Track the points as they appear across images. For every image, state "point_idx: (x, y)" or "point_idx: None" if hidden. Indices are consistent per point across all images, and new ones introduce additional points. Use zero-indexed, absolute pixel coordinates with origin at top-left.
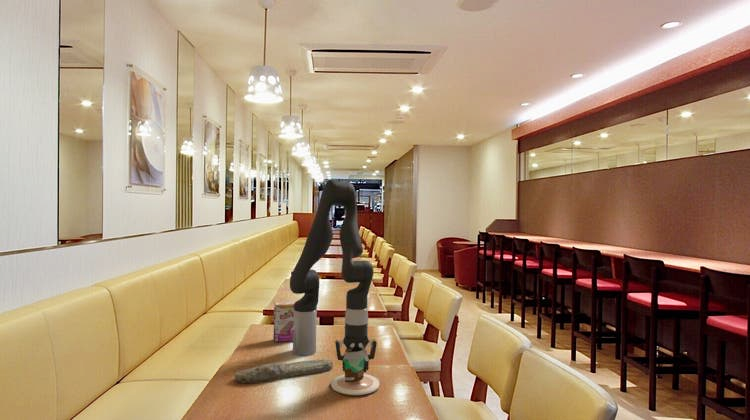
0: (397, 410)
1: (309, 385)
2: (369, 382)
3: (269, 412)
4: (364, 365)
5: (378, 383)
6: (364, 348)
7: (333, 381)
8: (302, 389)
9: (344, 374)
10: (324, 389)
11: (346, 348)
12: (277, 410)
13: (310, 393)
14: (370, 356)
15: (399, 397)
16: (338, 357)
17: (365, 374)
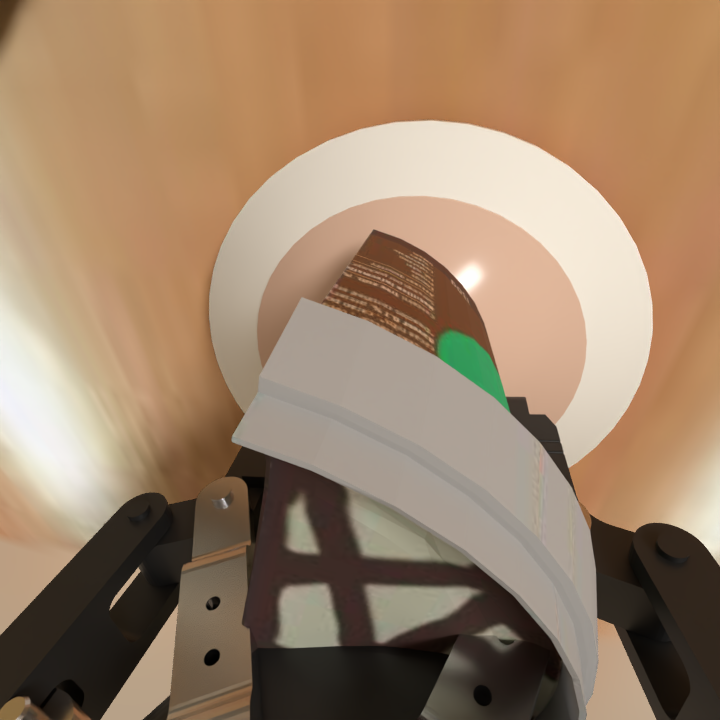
0: None
1: (74, 301)
2: (539, 386)
3: (52, 541)
4: None
5: (623, 400)
6: (552, 659)
7: (228, 335)
8: (62, 359)
9: (299, 168)
10: (196, 370)
11: (182, 620)
12: (72, 534)
13: (133, 413)
14: (618, 615)
15: (715, 521)
16: (157, 585)
17: (546, 167)
